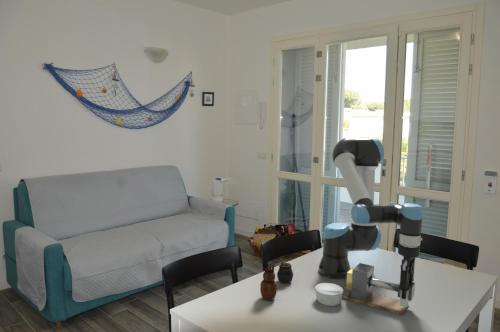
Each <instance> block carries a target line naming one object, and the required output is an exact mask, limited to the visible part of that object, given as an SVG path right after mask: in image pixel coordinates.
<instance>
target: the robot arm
mask: <svg viewBox="0 0 500 332" xmlns="http://www.w3.org/2000/svg"><path fill="white" fill-rule="evenodd" d="M331 158H332V162H333V165H334V167H336V168H338V170H339V173H340V176H341V177H342V178H341V179H342V180H343V182H344V185H345V188H346V190H347V193H348V195H349V198H350V199H351V200H350V201H351V202H352V204H353V205H352V207H351V210H350V215H351V221H350V222H351V223H350V225H351V226H350V225H349V224H348V223H346V222H332V223H329V224H327V225H326V226H324V229H323V234H322V236H323V247H322V249H323V250H322V257H321V260H320V262H319V263H318V264H319V265H318V273H319V274H320V275H322V276H325V277H327V278H333V279H343V278H344V279H345V278H347V272H348V271H349V270H351V269H352V268H351V265H350V261H349V258H348V257H349V252H359V251H360V252H363V251H366V252H368V251H374V250H377V248H378V247H380V244H381V241H382V232H381V229H380V227H379V226H378V225H377V224H396V225H398V226H399V233H398V234H399V236H398V243H399V244H398V248H397V249H398V254H399V255H400V256H402V257H403V259H401V264H400V276H399V277H400V278H399V283H400V287H399V288H398V289H400V290H401V293H400V297H399V300H400V306H404V307H407V308H408V307H409V302H412V300H408V293H409V290H408V285H409V282H411V283H415V282H414V281H415V280H414V279H415V265H416V264H415V262H416V258H419V257H420V254H421V252H420V251H421V247H420V246H421V241H423V238H422V237H421V236H422V229H423V228H422V227H423V218H424V215H423V207H422V205H420V204H416V203H408V202H407V203H402V204H401V203H397V202H395V201H394V202H393V201H392V202H391V201H390V202H387V203H385V204H384V203H383V204H377V203H374V202H375V181H376V180H375V178H376V177H375V176H376V169H378V168H379V165H380V164H379V163H381V162H383V161H384V158H385V149H384V145H383V143H382V142H381V140H380V139H378V138H377V137H376V138H375V137H352V136H351V137H349V136H348V137H344V138H342V139H340V140H339V141H338V142H337V143H336V144H335V145H334V147H333V150H332V155H331Z"/></svg>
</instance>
